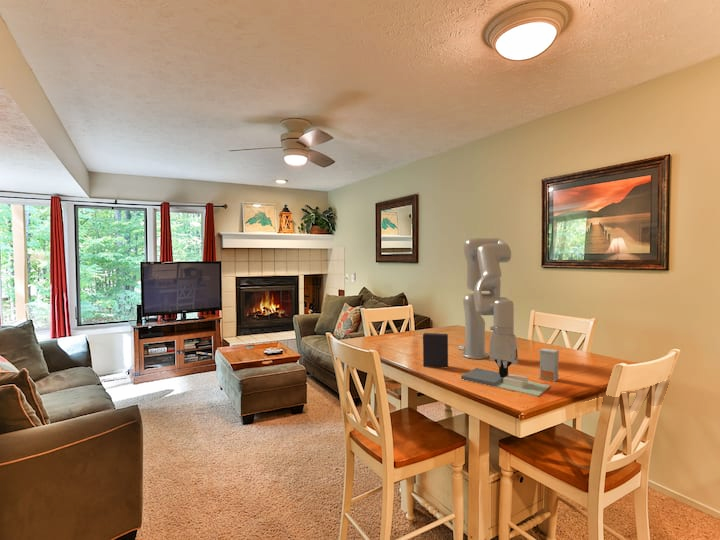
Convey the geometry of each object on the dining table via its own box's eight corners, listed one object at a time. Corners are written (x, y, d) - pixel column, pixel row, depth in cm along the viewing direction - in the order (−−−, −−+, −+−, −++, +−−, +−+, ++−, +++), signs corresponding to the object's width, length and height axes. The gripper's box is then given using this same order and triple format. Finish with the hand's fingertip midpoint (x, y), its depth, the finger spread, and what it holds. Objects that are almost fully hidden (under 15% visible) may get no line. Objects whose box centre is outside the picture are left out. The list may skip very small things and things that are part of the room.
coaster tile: (503, 384, 150) (503, 378, 150) (510, 380, 155) (510, 373, 155) (521, 388, 145) (521, 381, 145) (528, 383, 150) (528, 377, 150)
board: (461, 379, 158) (461, 375, 158) (476, 371, 168) (476, 368, 168) (494, 386, 148) (494, 382, 148) (508, 378, 159) (508, 374, 159)
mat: (494, 386, 148) (494, 385, 148) (508, 378, 159) (508, 377, 159) (538, 396, 138) (538, 395, 138) (550, 386, 148) (550, 385, 148)
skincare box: (539, 378, 157) (539, 349, 157) (543, 376, 160) (543, 347, 160) (555, 382, 153) (555, 352, 153) (558, 379, 156) (559, 350, 156)
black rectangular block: (448, 365, 178) (447, 333, 177) (447, 368, 174) (447, 335, 173) (424, 364, 181) (423, 332, 180) (423, 366, 177) (422, 334, 176)
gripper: (481, 330, 154) (481, 375, 155) (519, 334, 144) (519, 383, 145) (489, 327, 160) (489, 371, 161) (526, 331, 150) (526, 378, 151)
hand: (503, 376), depth 153 cm, fingers closed
